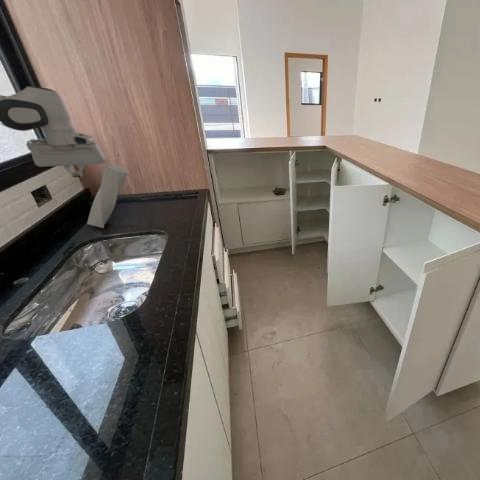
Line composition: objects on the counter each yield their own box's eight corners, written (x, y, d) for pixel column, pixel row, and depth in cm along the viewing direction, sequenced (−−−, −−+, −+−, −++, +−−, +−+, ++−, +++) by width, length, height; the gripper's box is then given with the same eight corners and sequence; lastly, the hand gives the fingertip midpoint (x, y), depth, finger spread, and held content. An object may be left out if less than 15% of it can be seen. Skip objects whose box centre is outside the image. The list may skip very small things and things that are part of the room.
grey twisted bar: (81, 224, 105) (104, 160, 100) (85, 217, 111) (108, 156, 106) (106, 230, 110) (129, 170, 105) (108, 223, 116) (131, 165, 111)
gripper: (19, 140, 88) (39, 181, 95) (94, 139, 96) (107, 176, 103) (28, 138, 93) (46, 176, 100) (98, 136, 101) (111, 172, 108)
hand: (78, 176), depth 101 cm, fingers closed
